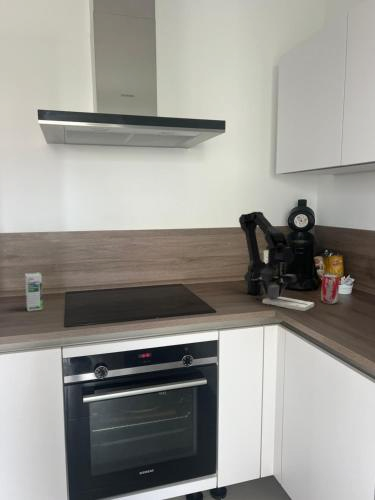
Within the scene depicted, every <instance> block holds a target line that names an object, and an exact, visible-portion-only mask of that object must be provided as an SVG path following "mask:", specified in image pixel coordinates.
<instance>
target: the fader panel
mask: <svg viewBox="0 0 375 500" xmlns="http://www.w3.org/2000/svg"><path fill="white" fill-rule="evenodd" d="M262 304H265V305H270V304H271V306H275V305H276V307H281V308H282V307H283V308H286V309H291V310H297V311H301V312H305V311H307V310H309V309H311V308H314V306H315V302H311V301H307V300H306V301H305V300H302V299H301V300H300V299H295V298H289V297H283V296H281V297H278V298H275V299H271V298H268V297H266V298H264V299H262Z"/></svg>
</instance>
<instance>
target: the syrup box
mask: <svg viewBox="0 0 375 500" xmlns="http://www.w3.org/2000/svg"><path fill="white" fill-rule="evenodd" d="M24 280H25V300H26V309H27V311H28V312H33V311H40V310H41V311H42V310H43V309H44V303H43V301H44V300H43V299H44V298H43V278H42V273H41V272H32V273H31V272H29V273H27V272H26V273H24Z"/></svg>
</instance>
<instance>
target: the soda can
mask: <svg viewBox="0 0 375 500" xmlns="http://www.w3.org/2000/svg"><path fill="white" fill-rule="evenodd" d="M338 277H339V276H338V275H336V274H324V275H323V277H322V279H321V289H320V291H321V292H320V294H321V295H320V297H321V298H320V300H321V301H322V302H323V304H329V305H332V304H333V305H335V304H336V303H338V300H339V292H340V291H339V290H340V288H339V287H340V280H339V278H338Z"/></svg>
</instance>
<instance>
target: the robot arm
mask: <svg viewBox="0 0 375 500" xmlns="http://www.w3.org/2000/svg"><path fill="white" fill-rule="evenodd" d="M238 222H239V225H240V229H241V230H242V231H243V232H244V234H245V239H246V245H247V251H248V257H249V263H248V266H247V271H246V273H245V275H244V276H243V277H244V281H245V282H247V286H246V287H247V290H246V292H245V294H248V295H253V296H260V295H263V294H264V291H265V295H267V296H268V286H270V281H271V280H273V279H275V280H280V281H278V286H279V297H282V294H283V293H284V291H285V289H286V287H287V285H288V284H293V283H295V282H296V283H297V280H298V279H297V278H298V277H297V275H296V274H290V273H287V274H283V272H282V266H283V265H284V264H286V265H290V264H293V262H294V261H295V254H294V252H293V250H292V247H291V246H289V243H288V240H287V238H286V235H285V234H284V232H283V231H282V230H280V229H278V228H276V227H274V225H272V224H271V223H270V221H269V220H268V219H267V218H266V217H265V215H264V212H261V211H253V212H250V213H246V214H245V213H242V214H241V215H240V216H239V218H238ZM257 227H258V228H259V229H260V230H261V232H262V233H263V234H264V240H265V242H266V244H267V246H266V247H265V249H266V250H268V252H267V262H265V261H262V259H261V256H260V255H261V254H260V250H259V245H258V238H257V233H256V230H257Z"/></svg>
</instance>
